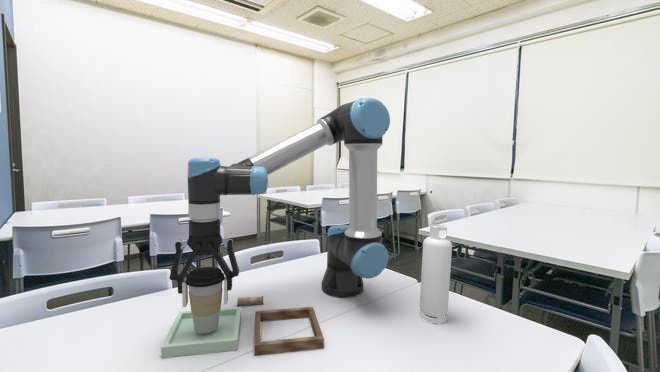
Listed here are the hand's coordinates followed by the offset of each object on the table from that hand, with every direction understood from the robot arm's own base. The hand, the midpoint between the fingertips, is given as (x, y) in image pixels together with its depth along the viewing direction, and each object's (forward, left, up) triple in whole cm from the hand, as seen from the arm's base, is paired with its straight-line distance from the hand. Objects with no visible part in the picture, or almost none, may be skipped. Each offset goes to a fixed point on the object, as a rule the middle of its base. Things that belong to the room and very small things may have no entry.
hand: (206, 303), depth 83 cm
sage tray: (0, 0, -8) cm, 8 cm away
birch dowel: (-11, -15, -6) cm, 20 cm away
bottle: (-65, +2, -9) cm, 66 cm away
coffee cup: (0, 0, -7) cm, 7 cm away
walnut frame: (-21, +3, -8) cm, 23 cm away
